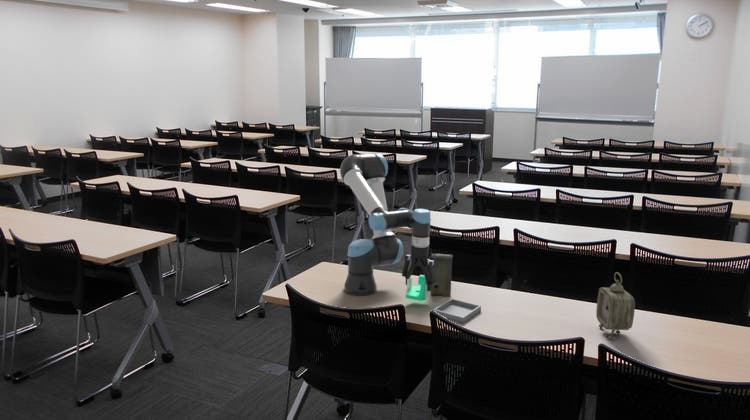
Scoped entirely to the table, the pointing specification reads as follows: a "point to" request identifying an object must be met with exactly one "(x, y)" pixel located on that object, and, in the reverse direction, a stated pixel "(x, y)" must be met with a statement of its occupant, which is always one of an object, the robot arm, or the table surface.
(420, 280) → the camera mount
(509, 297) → the table surface
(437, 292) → the vintage camera
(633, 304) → the tabletop clock
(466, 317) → the tray
